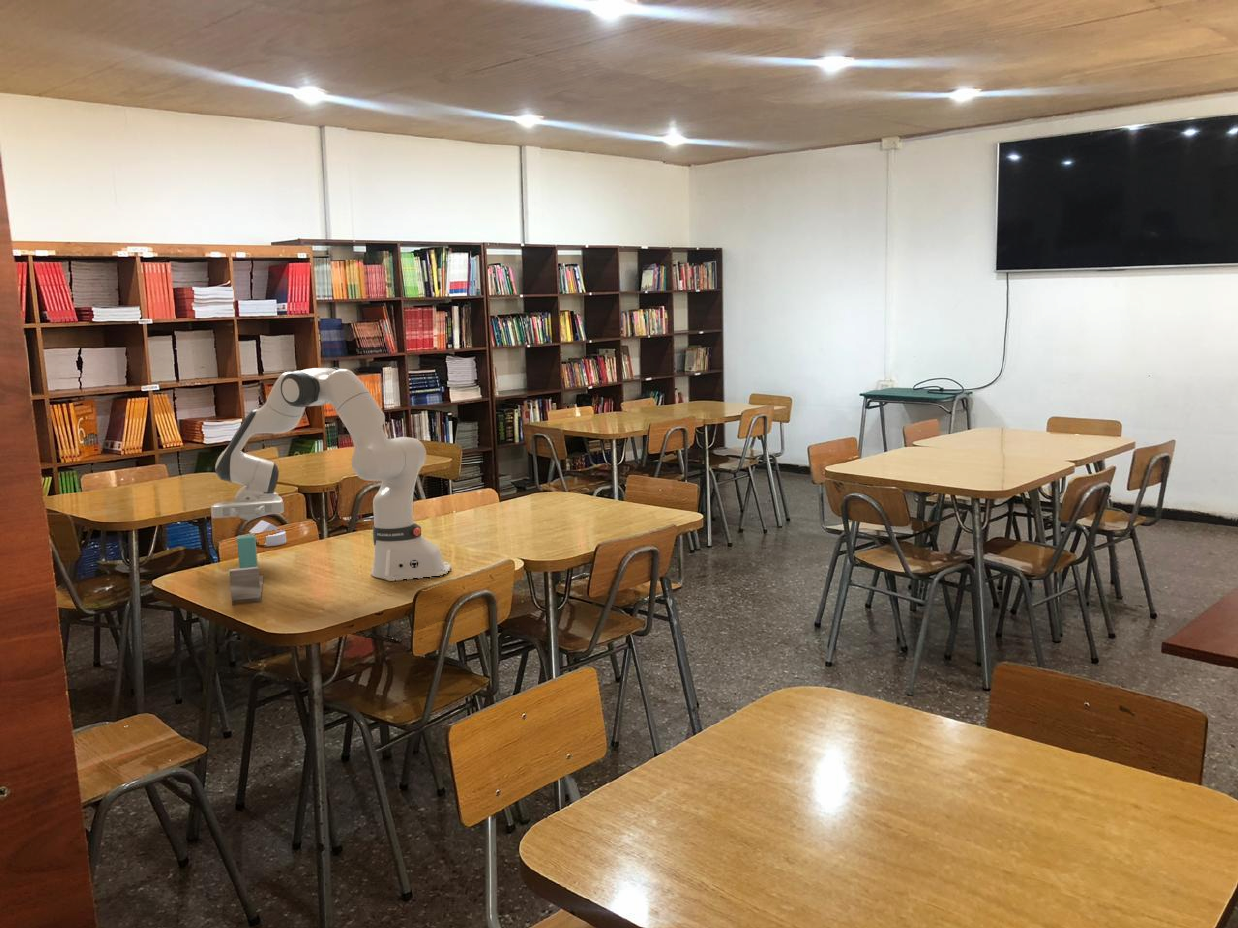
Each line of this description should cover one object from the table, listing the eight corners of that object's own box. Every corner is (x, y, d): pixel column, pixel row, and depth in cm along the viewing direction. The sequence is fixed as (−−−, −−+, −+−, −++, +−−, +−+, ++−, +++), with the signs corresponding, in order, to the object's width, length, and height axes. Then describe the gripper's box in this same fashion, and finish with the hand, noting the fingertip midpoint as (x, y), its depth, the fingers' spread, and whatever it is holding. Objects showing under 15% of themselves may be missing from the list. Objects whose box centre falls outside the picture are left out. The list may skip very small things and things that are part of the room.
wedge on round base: (249, 541, 320) (263, 547, 310) (248, 521, 319) (262, 527, 309) (276, 537, 326) (290, 543, 316) (274, 518, 325) (289, 523, 315)
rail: (237, 580, 269) (235, 549, 268) (263, 577, 272) (261, 547, 270) (232, 604, 245) (229, 571, 244) (260, 601, 247) (258, 568, 246)
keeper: (241, 577, 267) (237, 535, 265) (258, 575, 268) (255, 534, 267) (240, 580, 263) (237, 538, 261) (257, 579, 264) (254, 537, 263)
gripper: (211, 497, 284) (207, 505, 271) (283, 492, 290) (282, 499, 277) (212, 517, 285) (209, 526, 272) (284, 512, 291) (284, 520, 278)
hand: (246, 512), depth 275 cm, fingers open, 5 cm apart
